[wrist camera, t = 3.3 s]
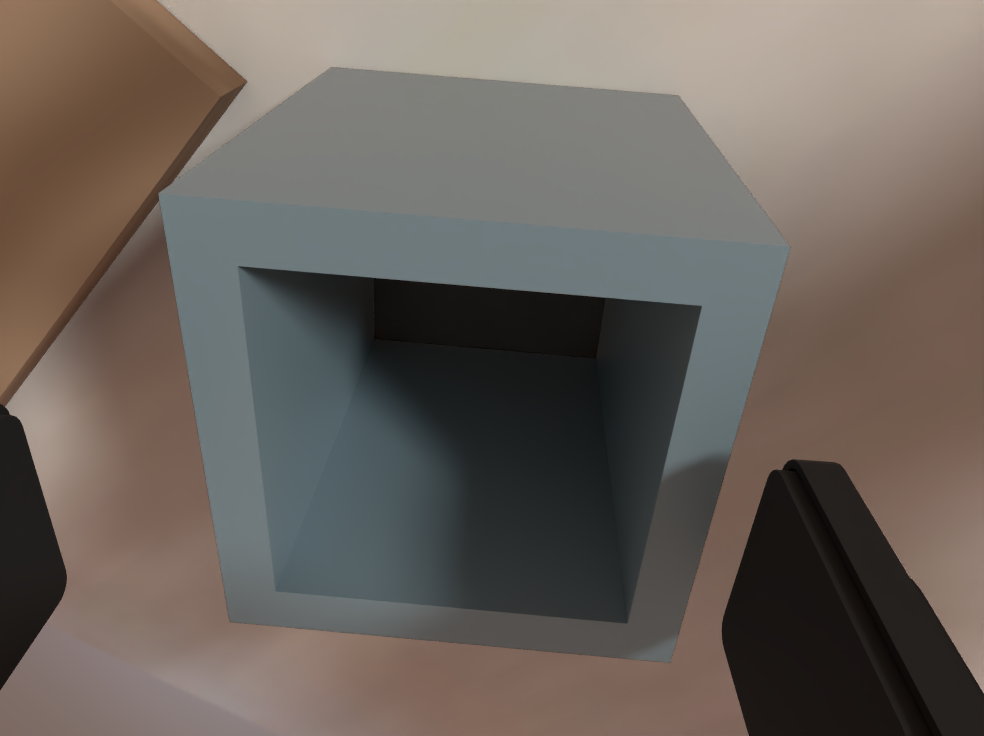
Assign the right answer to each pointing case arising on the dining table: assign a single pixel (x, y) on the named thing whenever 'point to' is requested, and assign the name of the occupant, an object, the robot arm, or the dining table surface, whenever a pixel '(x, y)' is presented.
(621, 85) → the dining table surface
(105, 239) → the base
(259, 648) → the dining table surface
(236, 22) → the dining table surface
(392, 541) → the duct sleeve
